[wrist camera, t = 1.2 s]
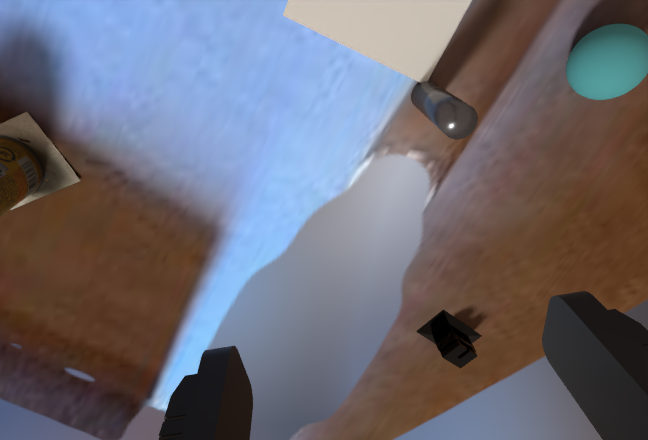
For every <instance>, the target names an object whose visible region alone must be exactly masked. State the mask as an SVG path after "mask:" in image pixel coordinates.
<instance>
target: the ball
mask: <svg viewBox="0 0 648 440" xmlns="http://www.w3.org/2000/svg"><path fill="white" fill-rule="evenodd" d="M647 73H648V35H647V34H646V33H645V32H643V31H642V30H641V29H639V28H637V27H635V26H633V25H629V24H610V25H605V26H602V27H600V28H597V29H595V30H593V31H591V32H590V33H588V34H587V35H586V36H584V37H583V38H582V39H581V40H580V41H579V42H578V43H577V44H576V45H575V47H574V48H573V50H572V51H571V53H570V55H569V58H568V61H567V65H566V75H567V79H568V82H569V84H570V85H571V87H572V88H573V89H574V90H575V91H576V92H577V93H578V94H580V95H582V96H584V97H586V98H590V99H596V100H604V99H611V98H615V97H618V96H621V95H623V94H625V93H627V92H628V91H630V90H632V89H633V88H634V87H636V86H637V85H638V84H639V83H640V82H641V81H642V80H643V79H644V77H645V76H646V75H647Z"/></svg>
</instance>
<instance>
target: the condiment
mask: <svg viewBox="0 0 648 440" xmlns="http://www.w3.org/2000/svg"><path fill="white" fill-rule="evenodd" d="M18 137H19V138H21V139H23V140H29V141H30V143H27V142H25V141H24V142H23V141H21V140H20V139H19V138H18ZM45 179H48V181H47V182H46V180H45ZM79 181H80V180H79V178H78V177H77V176H76V174H75V172H74V171H73V170H72V168H71V167H70V166H69V164H68V163H67V162H66V161H65V159H64V157H63V156H62V155H61V154H60V152H59V151H58V150H57V149H56V147H55V146H54V145H53V143H52V142H51V140H50V139H49V138H48V137H47V136H46V135H45V134H44V133H43V131H42V130H41V128H40V127H39V126H38V124H37V123H36V122H35V121H34V120H33V119H32V118H31V116H30V115H29V114H28V112H25V113H23V114H21V115H18V116H16V117H14V118H12V119H10V120H8V121H6V122H3V123H1V124H0V216H2V215H3V214H5V213H6V212H7V211H9V210H12V209H14V208H17V207H19V206H21V205H24V204H26V203H28V202H31V201H33V200H35V199H38V198H40V197H43V196H45V195H48V194H50V193H53V192H55V191H57V190H60V189H62V188H65V187H67V186H69V185H72V184H74V183H77V182H79Z"/></svg>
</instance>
